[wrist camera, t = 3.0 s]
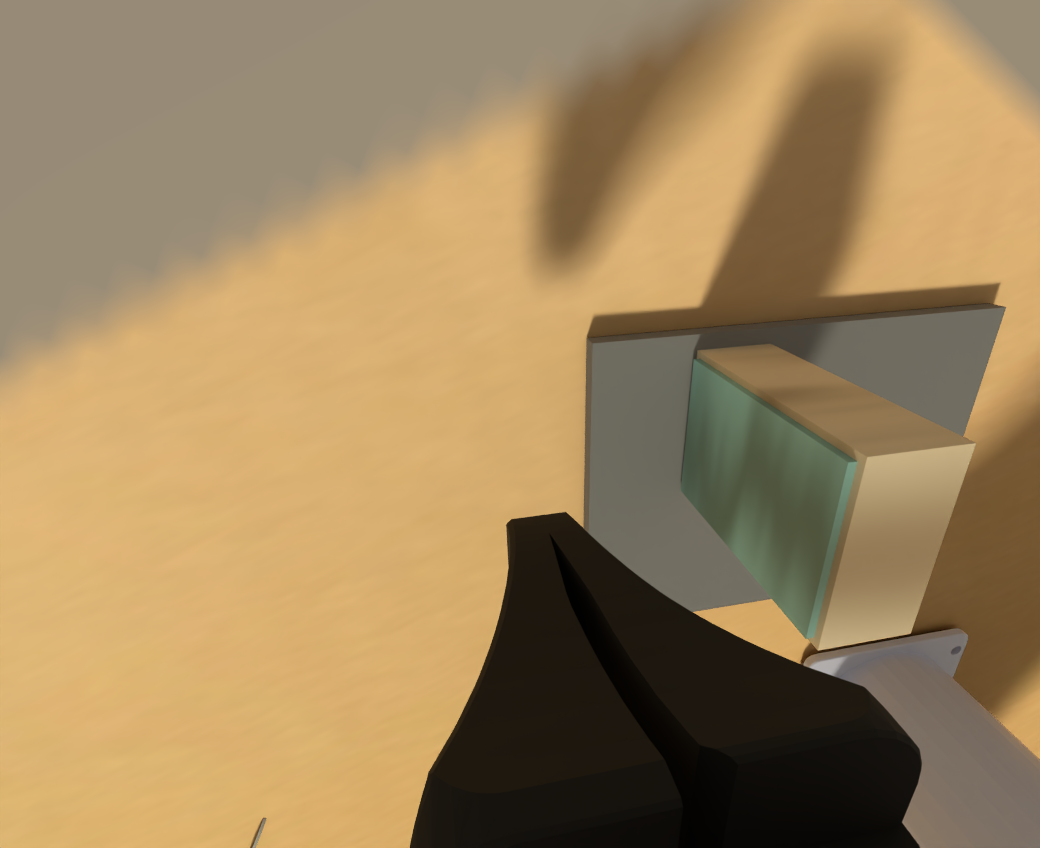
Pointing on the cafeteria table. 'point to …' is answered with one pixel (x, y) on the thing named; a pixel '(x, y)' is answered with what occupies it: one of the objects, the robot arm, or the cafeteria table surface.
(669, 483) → the rubber mat
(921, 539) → the green-faced wooden block
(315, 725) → the cafeteria table surface
